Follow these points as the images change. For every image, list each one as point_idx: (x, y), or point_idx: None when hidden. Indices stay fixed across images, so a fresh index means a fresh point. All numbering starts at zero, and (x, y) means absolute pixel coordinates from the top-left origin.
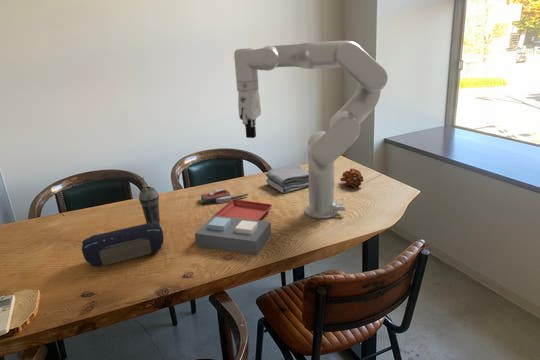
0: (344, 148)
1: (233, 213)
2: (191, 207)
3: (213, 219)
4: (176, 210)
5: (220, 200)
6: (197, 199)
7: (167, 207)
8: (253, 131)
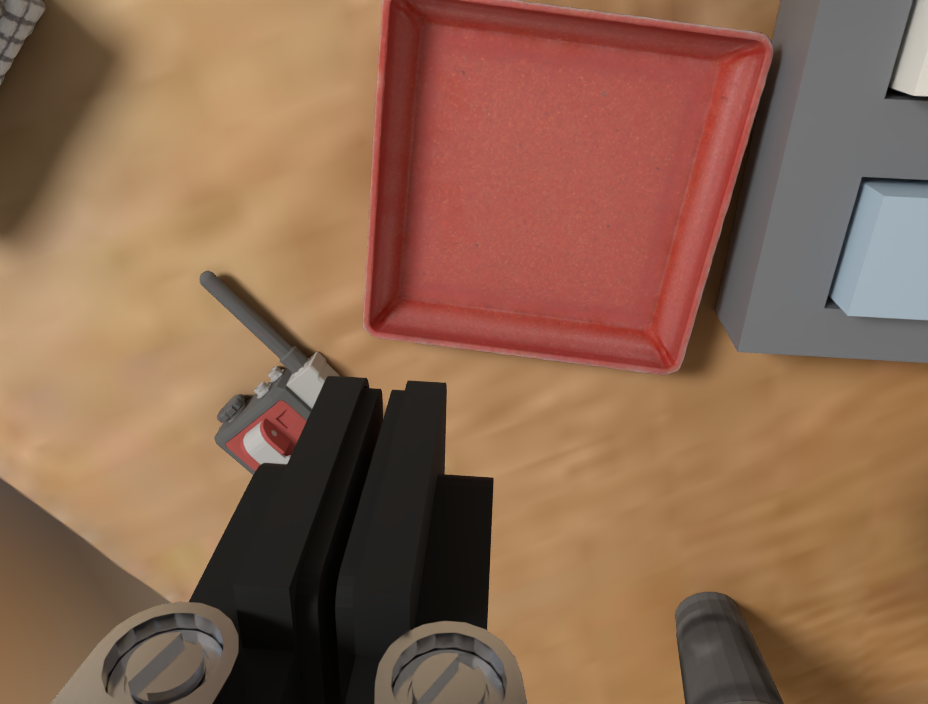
0: None
1: (513, 268)
2: None
3: (890, 317)
4: (515, 587)
5: None
6: None
7: None
8: (427, 498)
